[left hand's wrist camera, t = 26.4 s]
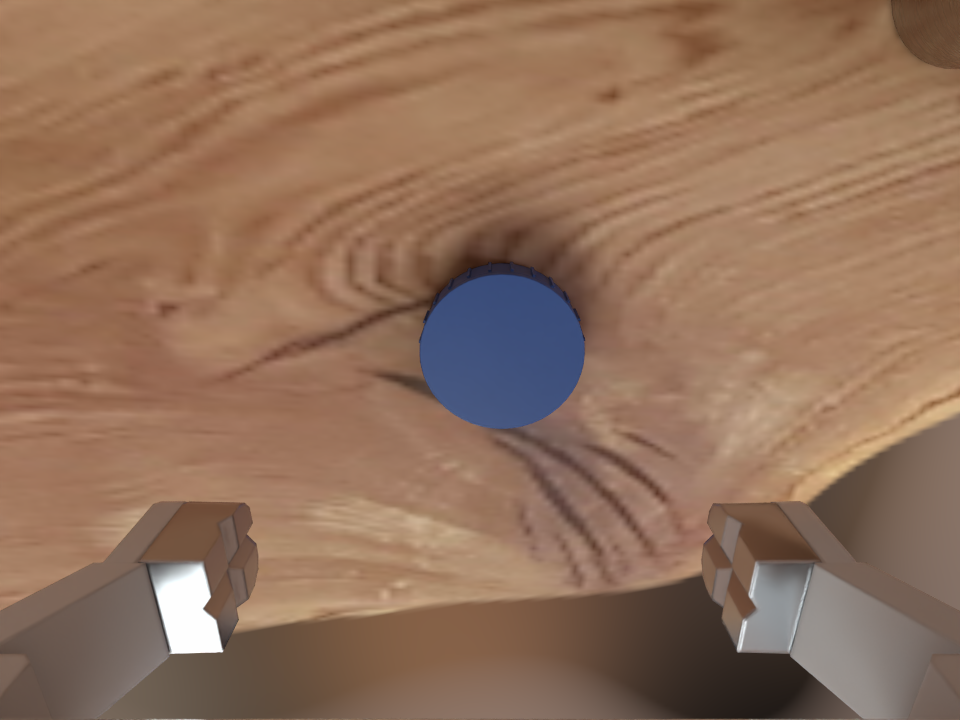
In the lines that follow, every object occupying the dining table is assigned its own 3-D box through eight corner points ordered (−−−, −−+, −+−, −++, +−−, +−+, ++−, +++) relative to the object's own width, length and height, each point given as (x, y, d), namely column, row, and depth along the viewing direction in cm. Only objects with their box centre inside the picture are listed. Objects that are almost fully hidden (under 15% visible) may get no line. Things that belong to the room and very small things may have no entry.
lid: (470, 231, 21) (467, 240, 19) (610, 309, 22) (619, 324, 20) (397, 366, 23) (389, 384, 21) (529, 433, 24) (531, 456, 22)
